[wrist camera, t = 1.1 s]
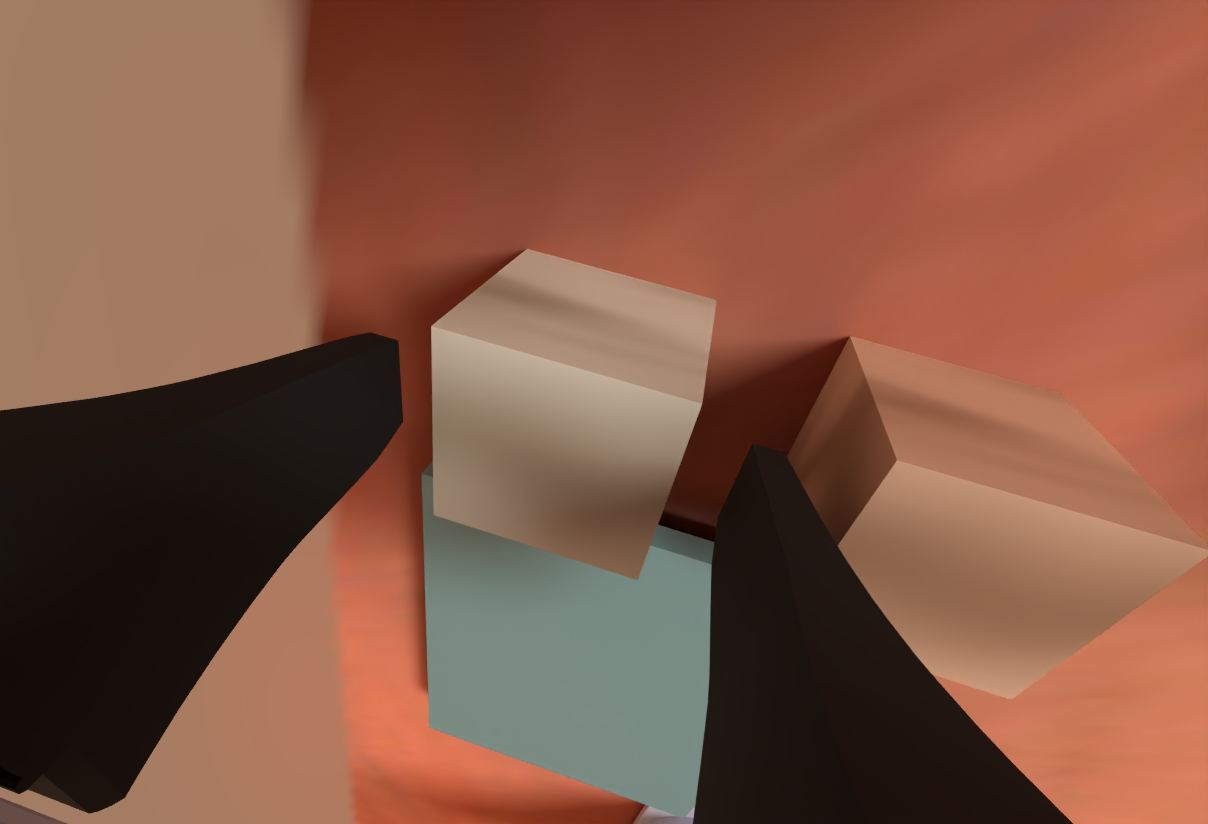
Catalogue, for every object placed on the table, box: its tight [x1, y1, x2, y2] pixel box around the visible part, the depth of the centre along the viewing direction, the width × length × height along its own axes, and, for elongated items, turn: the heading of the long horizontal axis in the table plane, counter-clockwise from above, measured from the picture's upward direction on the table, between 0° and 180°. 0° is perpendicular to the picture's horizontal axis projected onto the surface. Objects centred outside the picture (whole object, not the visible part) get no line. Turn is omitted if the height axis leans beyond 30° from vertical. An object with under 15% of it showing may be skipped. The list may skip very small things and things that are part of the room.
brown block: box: [787, 336, 1208, 700], centre depth 11 cm, size 4×4×4 cm
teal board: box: [421, 460, 714, 819], centre depth 19 cm, size 16×12×2 cm
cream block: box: [431, 249, 717, 580], centre depth 11 cm, size 4×4×4 cm
